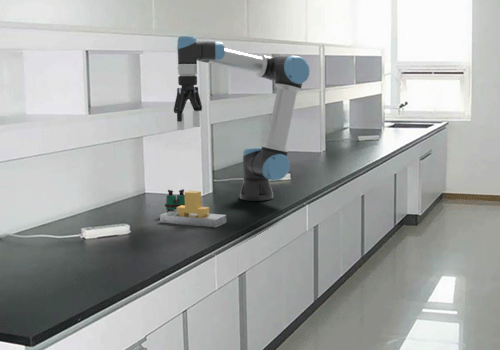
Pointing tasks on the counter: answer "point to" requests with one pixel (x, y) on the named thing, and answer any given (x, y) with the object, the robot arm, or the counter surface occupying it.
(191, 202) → the yellow stepped block
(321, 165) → the counter surface
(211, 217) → the grey board with holes
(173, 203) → the binoculars
